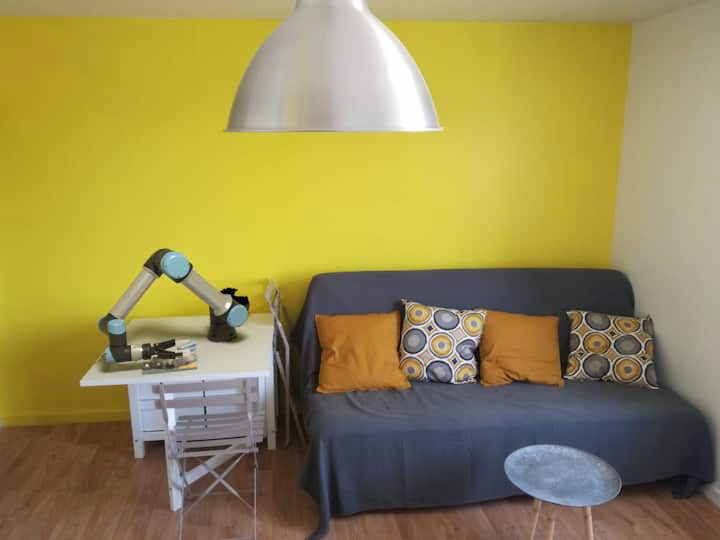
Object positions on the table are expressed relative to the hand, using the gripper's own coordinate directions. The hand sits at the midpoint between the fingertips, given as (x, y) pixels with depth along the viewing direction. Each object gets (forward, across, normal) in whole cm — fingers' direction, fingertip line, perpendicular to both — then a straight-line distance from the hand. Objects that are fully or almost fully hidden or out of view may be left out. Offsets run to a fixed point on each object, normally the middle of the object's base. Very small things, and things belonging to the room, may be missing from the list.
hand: (190, 347), depth 286 cm
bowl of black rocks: (+25, -62, -9) cm, 67 cm away
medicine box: (-2, 0, -8) cm, 8 cm away
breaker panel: (-10, 0, -9) cm, 13 cm away
